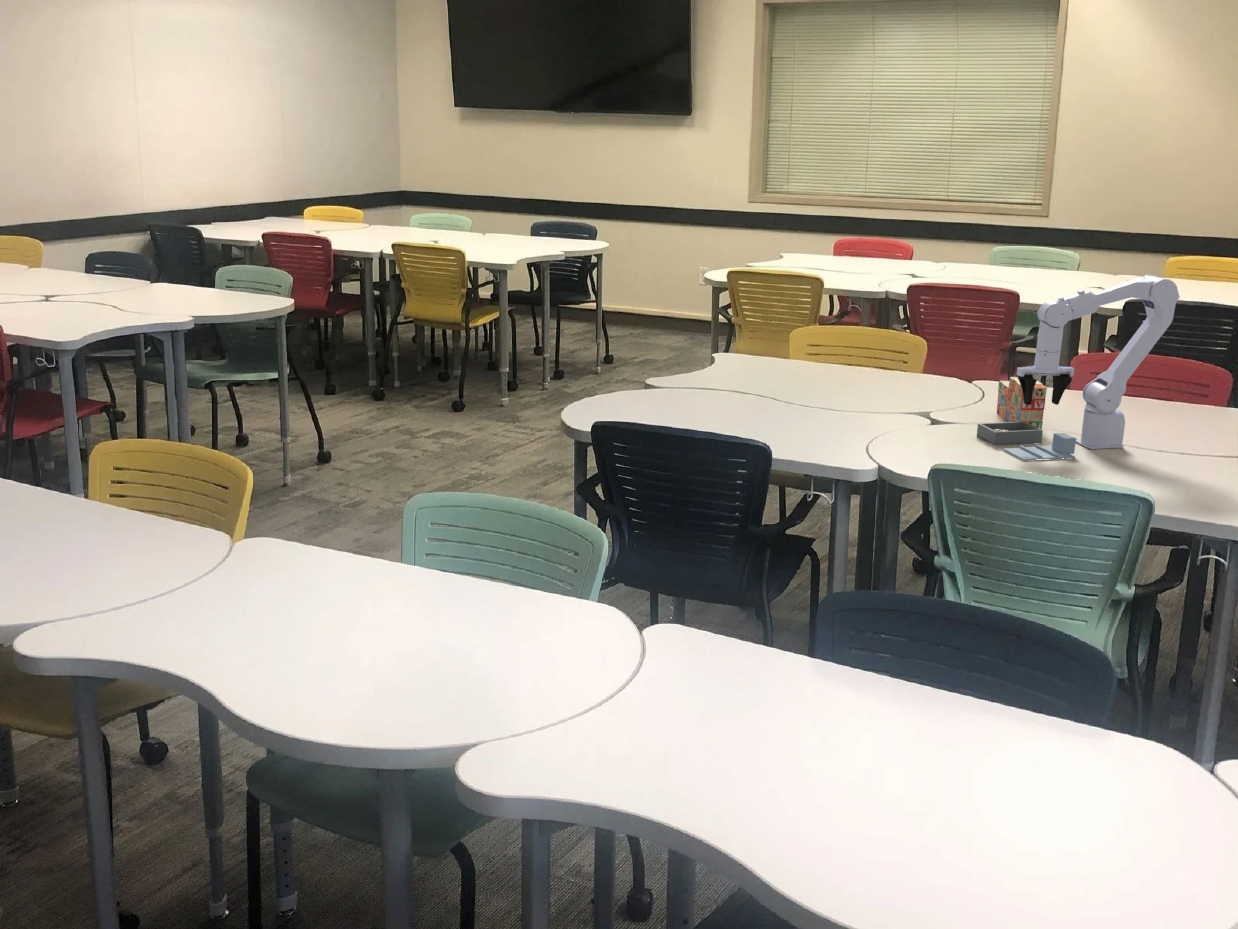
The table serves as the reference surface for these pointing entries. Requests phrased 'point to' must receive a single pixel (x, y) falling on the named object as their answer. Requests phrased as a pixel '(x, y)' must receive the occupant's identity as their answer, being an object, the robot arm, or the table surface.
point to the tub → (1009, 433)
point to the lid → (1047, 449)
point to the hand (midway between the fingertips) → (1041, 404)
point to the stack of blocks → (1021, 403)
